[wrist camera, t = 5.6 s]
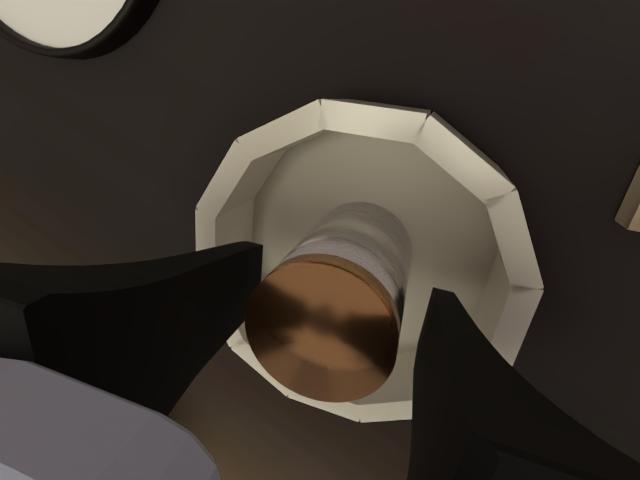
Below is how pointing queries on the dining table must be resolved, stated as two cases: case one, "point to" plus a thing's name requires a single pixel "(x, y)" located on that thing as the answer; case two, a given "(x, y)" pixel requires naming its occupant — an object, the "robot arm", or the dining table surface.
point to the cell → (334, 306)
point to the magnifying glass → (72, 25)
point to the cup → (395, 196)
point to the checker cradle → (631, 206)
